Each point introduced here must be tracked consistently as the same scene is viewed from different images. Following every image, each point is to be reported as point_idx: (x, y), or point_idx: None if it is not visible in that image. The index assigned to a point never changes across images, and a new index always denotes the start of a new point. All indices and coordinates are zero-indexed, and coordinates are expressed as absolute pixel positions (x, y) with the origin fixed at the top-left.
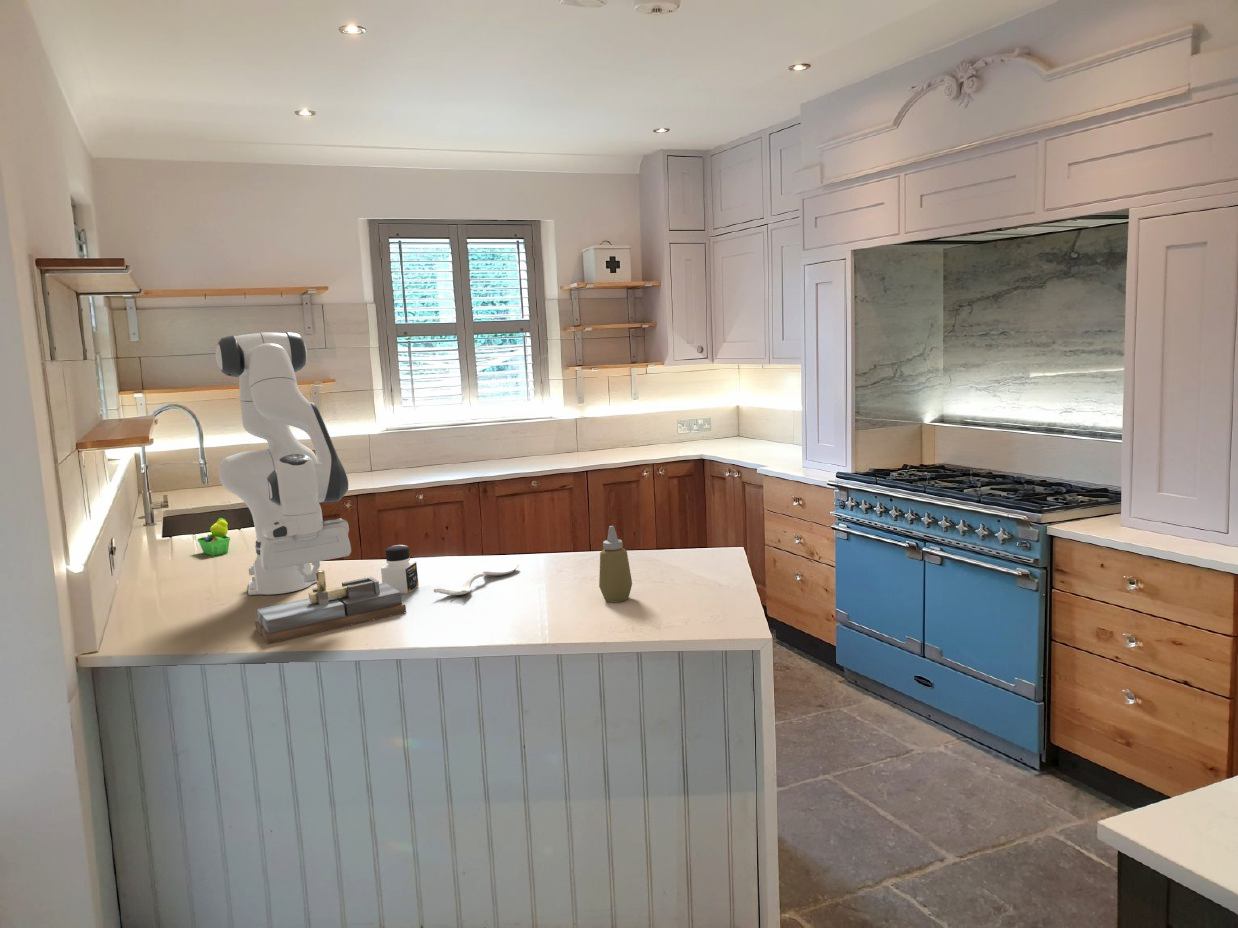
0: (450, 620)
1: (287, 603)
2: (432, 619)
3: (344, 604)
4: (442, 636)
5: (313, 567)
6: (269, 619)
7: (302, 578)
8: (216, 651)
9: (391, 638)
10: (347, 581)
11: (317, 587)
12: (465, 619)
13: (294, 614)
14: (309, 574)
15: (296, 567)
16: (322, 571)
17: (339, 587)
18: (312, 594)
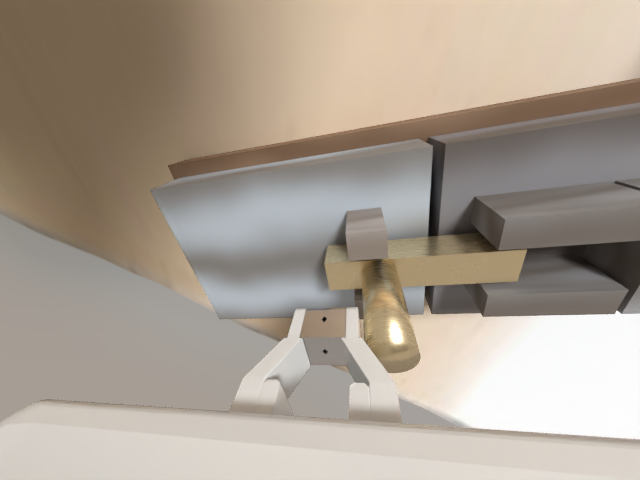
0: (602, 372)
1: (250, 186)
2: (583, 349)
3: (430, 289)
4: (519, 415)
5: (358, 367)
6: (223, 314)
7: (292, 319)
8: (149, 273)
9: (449, 382)
10: (542, 217)
11: (362, 287)
12: (628, 383)
13: (282, 315)
14: (327, 358)
15: (243, 391)
16: (402, 368)
17: (463, 258)
18: (337, 287)
